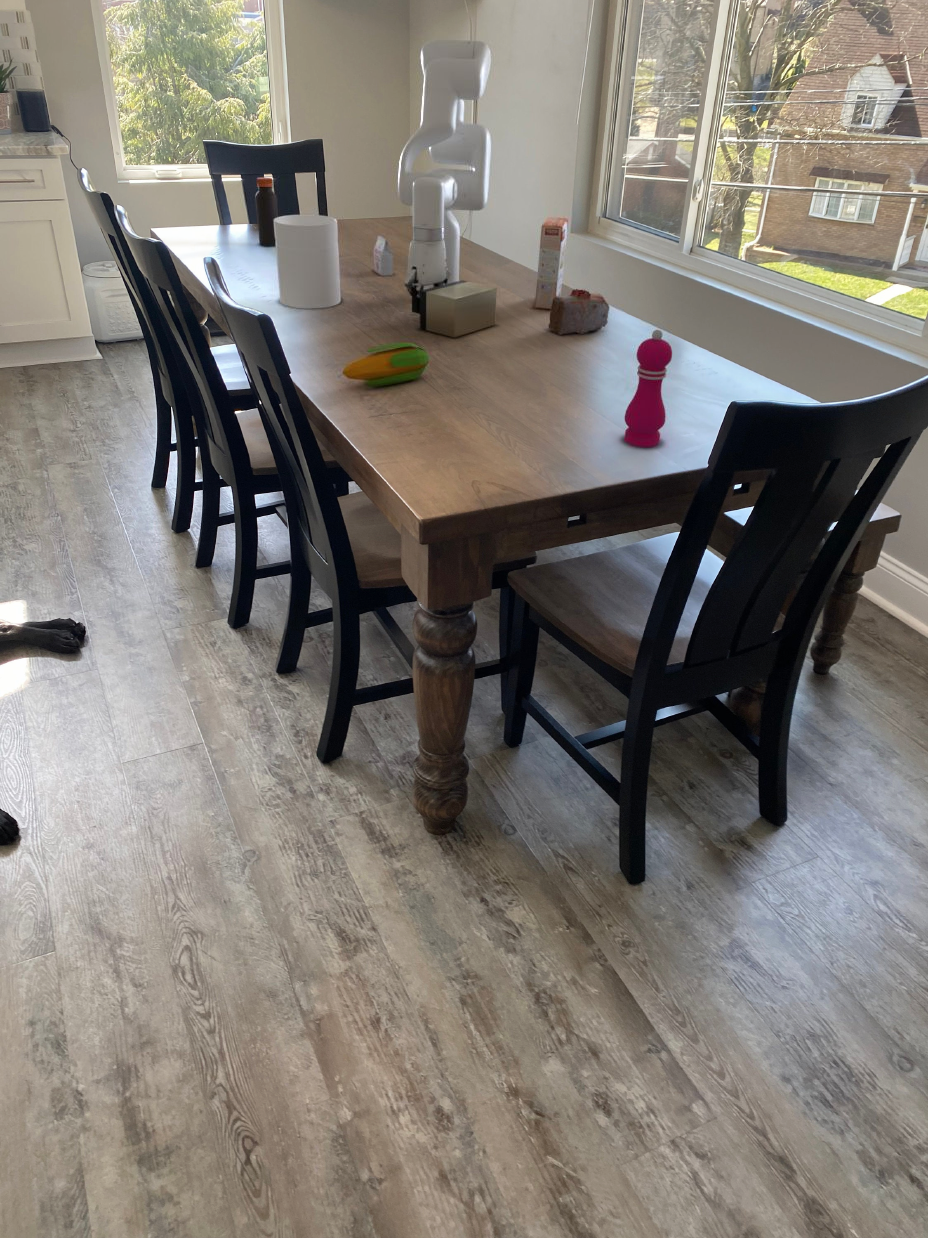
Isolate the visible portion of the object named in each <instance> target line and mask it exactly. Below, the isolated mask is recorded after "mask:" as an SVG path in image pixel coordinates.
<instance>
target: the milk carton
mask: <svg viewBox="0 0 928 1238" xmlns="http://www.w3.org/2000/svg"><path fill="white" fill-rule="evenodd" d="M372 255H373V256H372V257H373V259H372V260H373V272H374V273H376V274H378V276H379V275H380V276H381V277H384V276H394V256H393V252H392V250H391V247H390V246H389V243H388V239H387V238H385V237H383V236H381V235H377V239H376V242H375V245H374V247H373V250H372Z"/></svg>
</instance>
